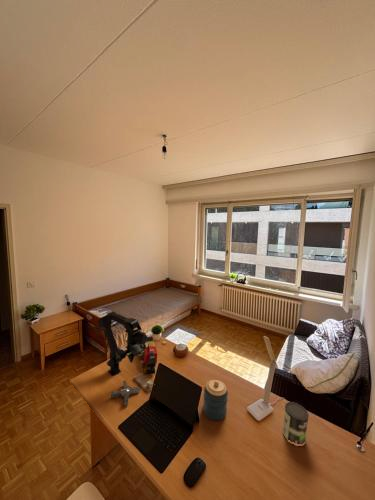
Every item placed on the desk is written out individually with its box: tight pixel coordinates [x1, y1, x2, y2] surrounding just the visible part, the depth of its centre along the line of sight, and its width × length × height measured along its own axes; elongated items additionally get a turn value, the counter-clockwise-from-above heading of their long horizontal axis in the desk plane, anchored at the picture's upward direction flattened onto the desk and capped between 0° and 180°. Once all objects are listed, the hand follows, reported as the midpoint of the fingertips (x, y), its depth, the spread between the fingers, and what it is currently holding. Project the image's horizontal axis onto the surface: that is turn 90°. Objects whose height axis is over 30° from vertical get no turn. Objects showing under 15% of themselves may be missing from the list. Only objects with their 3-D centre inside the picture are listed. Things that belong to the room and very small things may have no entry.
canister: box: [202, 379, 229, 422], centre depth 114 cm, size 13×13×18 cm
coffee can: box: [282, 401, 310, 444], centre depth 102 cm, size 10×10×14 cm
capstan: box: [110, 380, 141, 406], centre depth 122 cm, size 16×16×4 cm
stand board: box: [133, 372, 154, 394], centre depth 132 cm, size 16×6×4 cm, turn 47°
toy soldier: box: [138, 336, 158, 377], centre depth 152 cm, size 14×12×30 cm
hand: (131, 362), depth 134 cm, fingers closed
